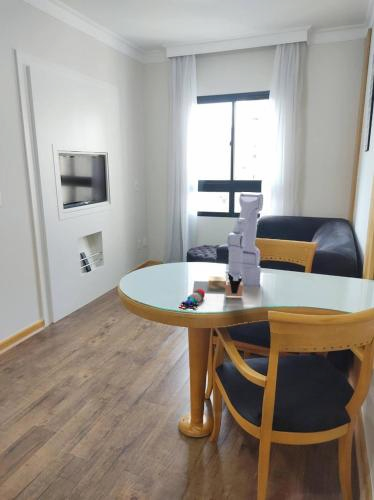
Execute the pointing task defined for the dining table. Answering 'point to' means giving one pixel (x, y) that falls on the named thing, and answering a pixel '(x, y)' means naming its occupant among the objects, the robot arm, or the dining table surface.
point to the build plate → (204, 286)
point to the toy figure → (194, 298)
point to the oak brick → (217, 282)
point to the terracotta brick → (229, 293)
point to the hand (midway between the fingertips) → (233, 291)
